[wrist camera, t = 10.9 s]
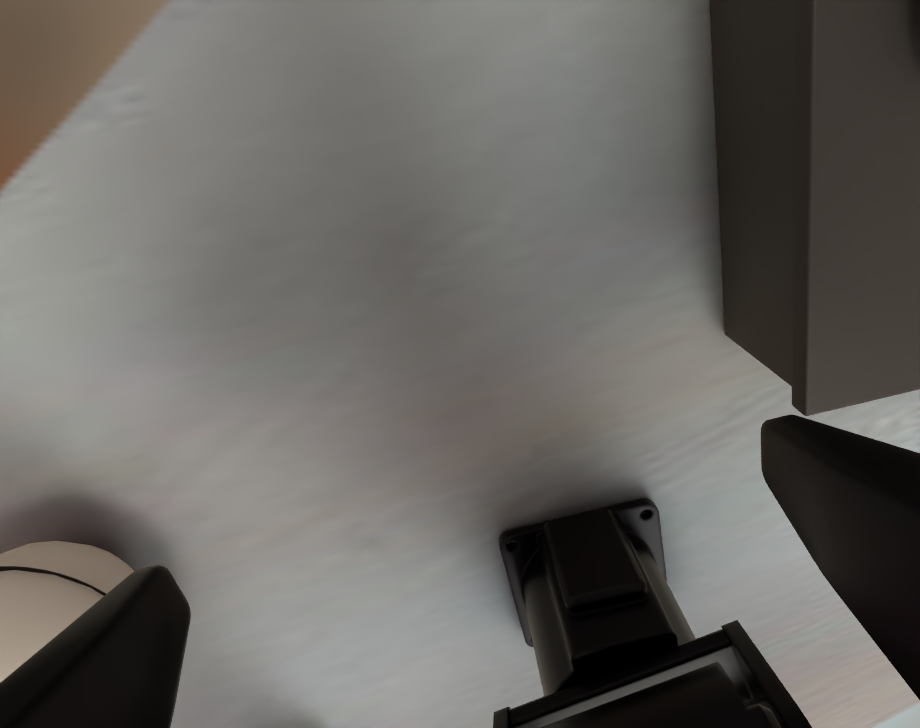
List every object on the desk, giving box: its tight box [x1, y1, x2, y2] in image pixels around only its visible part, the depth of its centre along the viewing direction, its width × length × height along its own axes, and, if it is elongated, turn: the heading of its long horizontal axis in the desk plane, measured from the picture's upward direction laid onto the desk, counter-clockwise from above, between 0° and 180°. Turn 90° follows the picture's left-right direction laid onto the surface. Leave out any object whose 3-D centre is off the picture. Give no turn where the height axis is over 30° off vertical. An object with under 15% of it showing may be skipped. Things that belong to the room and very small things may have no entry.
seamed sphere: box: [0, 541, 134, 683], centre depth 20 cm, size 10×7×7 cm
